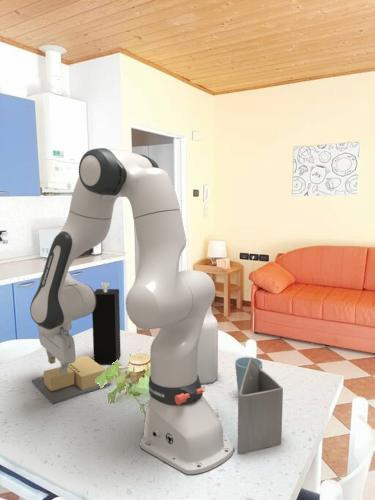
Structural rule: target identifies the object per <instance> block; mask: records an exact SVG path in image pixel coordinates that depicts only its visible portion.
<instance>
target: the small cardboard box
mask: <svg viewBox="0 0 375 500" xmlns="http://www.w3.org/2000/svg"><path fill="white" fill-rule="evenodd" d="M60 367H61V366H58V367H54V368H51V369H48V370H43V377H44V384H45V385H46V386H47V387H48V388H49V389H50V390H51V391H54V390H57V389H61V388H64V387H67V386H70V385H74V371H73V370H71V369H70V368H69V367H68V368H67V374H64V375H62V374H61V373H60V369H59V368H60Z"/></svg>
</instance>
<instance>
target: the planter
mask: <svg viewBox="0 0 375 500" xmlns="http://www.w3.org/2000/svg"><path fill="white" fill-rule="evenodd" d="M249 357H250V359H249V362H248V365H247V369H246V372H245V375H244V379H243V382H242V385H241V389H240V392H239V396H238V397H237V398H238V399H237V454H238V455H243V454H247V453H252V452H256V451H259V450H264V449H266V448H272V447H274V446H277V445H281V444H282V432H283V431H282V430H283V429H282V428H283V405H284V404H283V403H284V402H283V401H284V399H283V398H284V397H283V396H284V388H283V386H282V385H280V383H279V382H278V381H276V380H275V379H274V378H273V377H272V376H271V375H269V373H267V372H266V371H265V370H263V368H262V369H261V367H260V366H259V365H258V364H257V363H256V362H255V361H254V359H253V358H254V357H252V356H249Z"/></svg>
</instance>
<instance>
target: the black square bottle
mask: <svg viewBox="0 0 375 500" xmlns="http://www.w3.org/2000/svg"><path fill="white" fill-rule="evenodd" d="M100 283H101V286H102V288H97V289H95V290H94V292H95V295H96V307H95V309H94V311H93V312H92V313H91V314H92V315H91V316H92V317H91V319H92V341H93V342H92V343H93V344H92V345H93V349H92V351H93V360H94V361H95V362H96V363H98V364H99V365H113V364H112V363H113V362H115V361H116V360H117V359H119V360H120V358H121V355H122V354H121V351H122V350H121V317H120V314H121V313H120V289H119V288H109V287H110V286H111V283H109V282H105V281H103V282H102V281H101V282H100Z"/></svg>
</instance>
